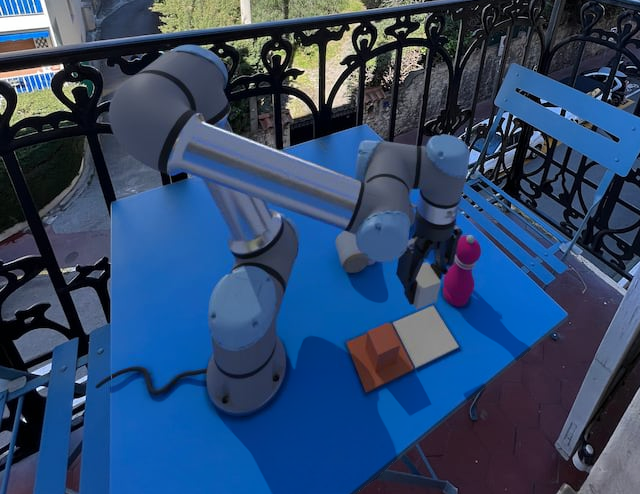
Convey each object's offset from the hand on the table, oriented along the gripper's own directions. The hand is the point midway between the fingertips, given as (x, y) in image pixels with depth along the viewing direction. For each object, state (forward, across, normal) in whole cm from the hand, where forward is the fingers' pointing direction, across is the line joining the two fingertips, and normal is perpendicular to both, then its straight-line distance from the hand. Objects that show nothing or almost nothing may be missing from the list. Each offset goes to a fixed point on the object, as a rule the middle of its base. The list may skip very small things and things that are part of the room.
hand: (420, 293), depth 85 cm
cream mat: (+13, +2, -2) cm, 13 cm away
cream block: (0, 0, 0) cm, 0 cm away
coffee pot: (+13, +13, +25) cm, 30 cm away
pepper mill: (+13, +14, +4) cm, 20 cm away
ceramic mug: (+13, -4, +22) cm, 26 cm away
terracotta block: (+12, -9, -2) cm, 15 cm away
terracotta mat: (+13, -10, -2) cm, 16 cm away
